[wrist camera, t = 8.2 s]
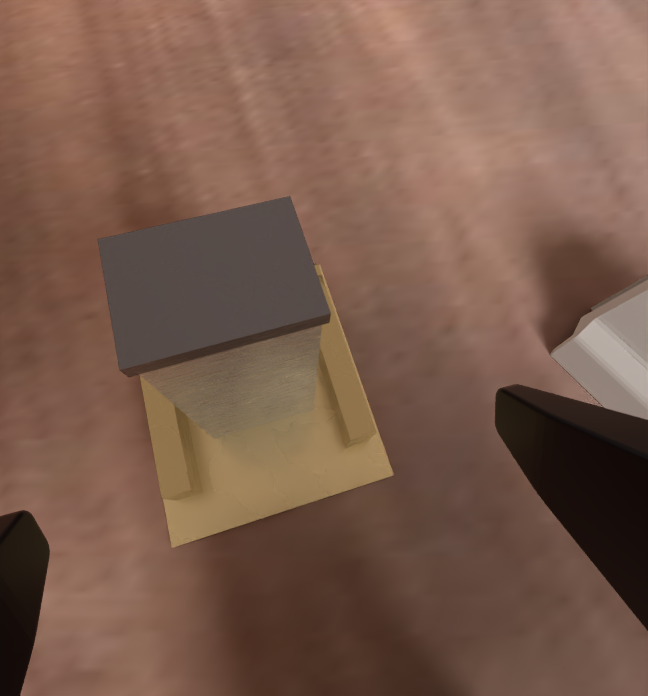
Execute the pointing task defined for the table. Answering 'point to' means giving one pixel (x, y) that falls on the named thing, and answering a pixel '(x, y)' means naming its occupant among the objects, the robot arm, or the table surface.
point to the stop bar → (220, 314)
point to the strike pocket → (268, 451)
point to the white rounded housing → (612, 351)
